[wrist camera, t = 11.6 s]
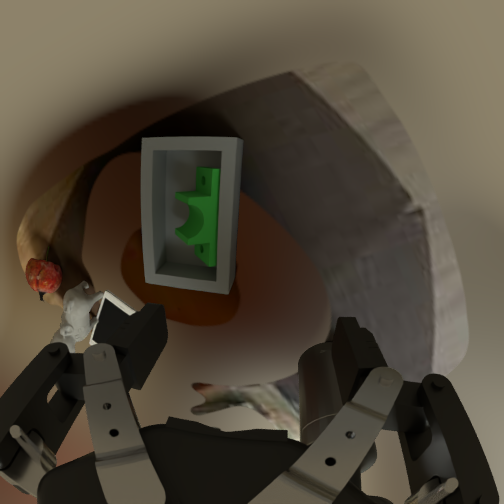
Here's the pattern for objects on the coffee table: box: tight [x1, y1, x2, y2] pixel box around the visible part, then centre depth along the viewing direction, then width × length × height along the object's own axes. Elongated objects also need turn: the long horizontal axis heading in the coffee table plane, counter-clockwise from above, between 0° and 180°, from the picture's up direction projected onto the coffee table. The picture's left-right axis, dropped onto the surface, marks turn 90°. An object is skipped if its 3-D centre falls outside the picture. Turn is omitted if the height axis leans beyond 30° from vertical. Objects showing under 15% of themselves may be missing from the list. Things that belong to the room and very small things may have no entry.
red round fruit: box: [26, 246, 62, 301], centre depth 38 cm, size 7×7×10 cm
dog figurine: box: [50, 281, 104, 353], centre depth 38 cm, size 5×13×11 cm, turn 154°
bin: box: [141, 137, 244, 294], centre depth 32 cm, size 18×11×5 cm, turn 176°
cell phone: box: [89, 290, 137, 346], centre depth 44 cm, size 8×16×1 cm, turn 147°
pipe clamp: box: [175, 167, 221, 267], centre depth 31 cm, size 11×4×5 cm
